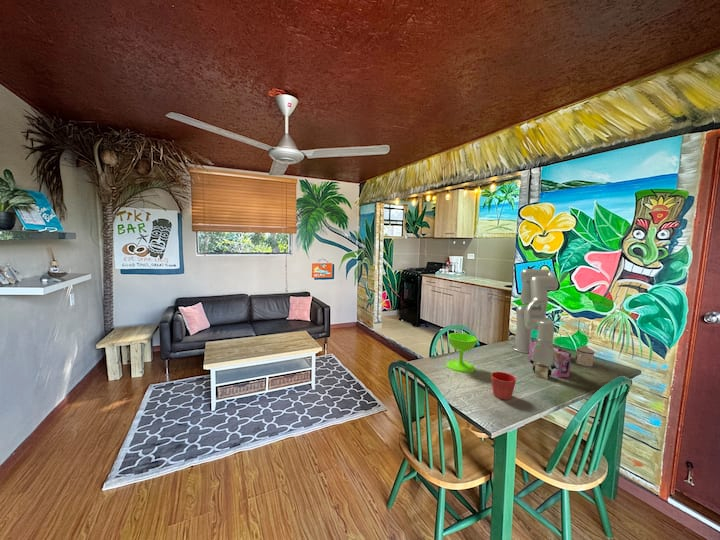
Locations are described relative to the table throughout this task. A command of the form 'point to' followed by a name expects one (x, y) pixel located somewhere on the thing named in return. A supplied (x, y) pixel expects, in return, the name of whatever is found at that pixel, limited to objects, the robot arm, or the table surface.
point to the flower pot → (503, 385)
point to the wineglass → (461, 351)
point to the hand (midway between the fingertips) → (541, 373)
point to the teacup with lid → (584, 356)
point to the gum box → (560, 357)
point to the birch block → (541, 370)
